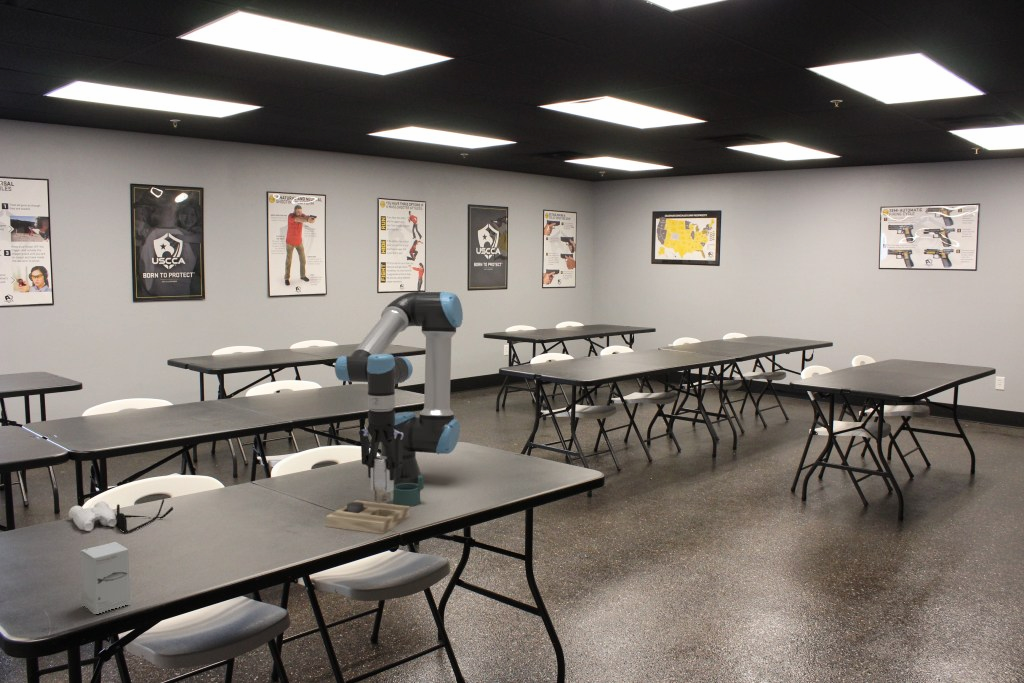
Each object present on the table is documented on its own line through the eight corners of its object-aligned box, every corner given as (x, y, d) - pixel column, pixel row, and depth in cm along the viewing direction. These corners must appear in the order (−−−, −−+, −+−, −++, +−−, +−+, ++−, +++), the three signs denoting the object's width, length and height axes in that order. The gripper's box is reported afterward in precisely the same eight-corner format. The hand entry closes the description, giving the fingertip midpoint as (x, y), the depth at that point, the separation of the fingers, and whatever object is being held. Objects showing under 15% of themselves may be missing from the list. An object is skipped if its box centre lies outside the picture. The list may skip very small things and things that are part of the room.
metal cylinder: (379, 496, 222) (378, 455, 221) (392, 498, 220) (392, 456, 219) (371, 500, 218) (371, 459, 217) (385, 502, 216) (384, 460, 215)
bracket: (425, 504, 238) (425, 475, 237) (397, 508, 233) (397, 479, 233) (414, 497, 246) (414, 469, 245) (387, 501, 241) (386, 473, 240)
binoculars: (108, 513, 228) (107, 498, 228) (121, 528, 216) (121, 512, 216) (68, 521, 222) (67, 505, 221) (79, 536, 210) (79, 519, 209)
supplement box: (95, 616, 161) (92, 558, 160) (82, 606, 166) (79, 549, 164) (131, 605, 166) (129, 548, 165) (117, 595, 171) (115, 540, 170)
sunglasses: (177, 526, 218) (176, 509, 217) (120, 535, 210) (119, 518, 209) (166, 510, 232) (165, 494, 231) (112, 519, 224) (111, 502, 223)
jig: (356, 509, 232) (355, 495, 232) (409, 516, 226) (409, 501, 226) (326, 526, 217) (326, 511, 217) (383, 534, 211) (382, 518, 211)
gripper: (347, 409, 216) (348, 490, 218) (402, 413, 210) (403, 496, 213) (361, 405, 223) (362, 483, 225) (415, 408, 218) (415, 489, 220)
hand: (382, 490), depth 219 cm, fingers closed on metal cylinder, 4 cm apart
